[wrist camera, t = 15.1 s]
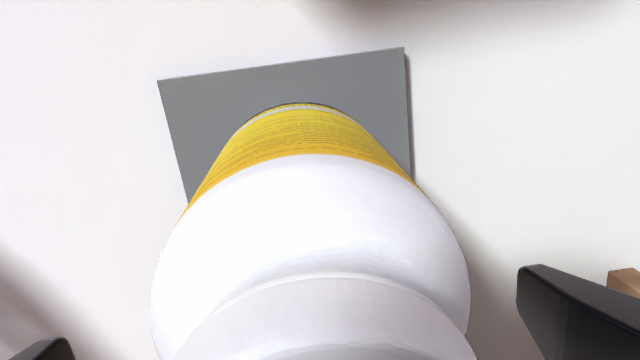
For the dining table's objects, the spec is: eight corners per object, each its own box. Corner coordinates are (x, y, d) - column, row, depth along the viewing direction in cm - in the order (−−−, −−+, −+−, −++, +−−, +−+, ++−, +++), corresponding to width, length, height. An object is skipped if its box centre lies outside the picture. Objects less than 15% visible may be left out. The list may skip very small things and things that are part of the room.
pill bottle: (214, 97, 14) (-28, 262, 3) (387, 99, 15) (662, 250, 4) (224, 254, 16) (93, 670, 6) (376, 252, 17) (534, 629, 6)
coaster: (399, 47, 15) (403, 47, 14) (411, 254, 18) (415, 261, 17) (161, 79, 15) (156, 80, 14) (213, 284, 18) (211, 292, 17)
